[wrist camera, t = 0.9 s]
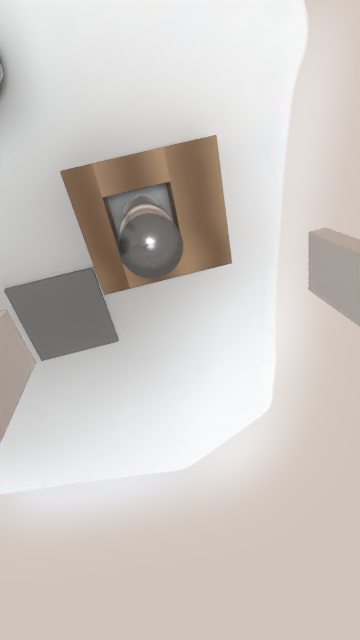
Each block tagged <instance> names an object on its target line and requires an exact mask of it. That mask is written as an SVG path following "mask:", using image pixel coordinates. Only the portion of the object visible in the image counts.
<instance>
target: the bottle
mask: <svg viewBox="0 0 360 640" xmlns="http://www.w3.org/2000/svg"><path fill="white" fill-rule="evenodd" d="M2 79H3V69H2V66H1V63H0V83H1V81H2Z"/></svg>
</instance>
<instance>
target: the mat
mask: <svg viewBox="0 0 360 640" xmlns="http://www.w3.org/2000/svg"><path fill="white" fill-rule="evenodd" d="M4 291H5V293H6V295H7V297H8V299H9V301H10V303H11V304H12V306H13V308H14V310H15V312H16V314H17V316H18V318H19V319H20V321H21V323H22V325H23V327H24V329H25V331H26V333H27V334H28V336H29V338H30V340H31V342H32V344H33V346H34V348H35V349H36V351H37V353H38V355H39V357H40V359H41V361H43V360H47V359H51V358H55V357H59V356H63V355H67V354H70V353H74V352H78V351H82V350H86V349H90V348H94V347H98V346H102V345H106V344H110V343H114V342H118V337H117V334H116V332H115V329H114V326H113V323H112V321H111V318H110V315H109V312H108V310H107V307H106V304H105V301H104V298H103V296H102V293H101V290H100V287H99V285H98V282H97V279H96V276H95V274H94V271H93V268H89V269H85V270H80V271H76V272H72V273H68V274H64V275H60V276H56V277H52V278H48V279H44V280H40V281H36V282H32V283H27V284H23V285H19V286H15V287H11V288H7V289H5V290H4Z"/></svg>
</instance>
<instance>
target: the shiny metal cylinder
mask: <svg viewBox="0 0 360 640" xmlns="http://www.w3.org/2000/svg"><path fill="white" fill-rule="evenodd" d="M119 253H120V256H121V259H122V261H123V263H124V264H125V266H126V267H127V268H128V269H129V270H130V271H131V272H132V273H134V274H135V275H138V276H140V277H143V278H150V279H152V278H159V277H163V276H165V275H167V274H168V273H170V272H171V271H173V270H174V269H175V268H176V266H177V265H178V263H179V262H180V260H181V257H182V254H183V240H182V236H181V234H180V232H179V230H178V228H177V227H176V226H175V224H174V223H173V221H172V220H171V219H170V217H169V216H168V214H167V213H166V212H165V210H164V209H163V207H162V206H161V205H160V203H159V202H158V201H157V200H156V199H155V198H153V197H151V196H148V195H136V196H134V197H132V198H130V199H129V200H128V201H127V202H126V203H125V205H124V207H123V210H122V216H121V227H120V238H119Z"/></svg>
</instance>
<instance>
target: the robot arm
mask: <svg viewBox="0 0 360 640" xmlns="http://www.w3.org/2000/svg"><path fill="white" fill-rule="evenodd" d="M309 290H310V291H311V292H313V293H314V294H315V295H317V296H318V297H319V298H321V299H323V300H324V301H325V302H326V303H328V304H329V305H331V306H332V307H333V308H335V309H336V310H337V311H339V312H340V313H342V314H343V315H345V316H346V317H347V318H349V319H350V320H351V321H353V322H354V323H355V324H357V325H358V326H360V240H359V239H356V238H353V237H351V236H348V235H345V234H342V233H339V232H336V231H333V230H331V229H328V228H323V229H319V230H315V231H311V232H309ZM35 363H36V361H35V360H34V358H33V356H32V354H31V352H30V351H29V349H28V347H27V345H26V343H25V342H24V340H23V338H22V336H21V335H20V333H19V331H18V329H17V327H16V326H15V324H14V322H13V320H12V318H11V317H10V315H9V313H8V311H7V310H5V311H1V312H0V443H1V441H2V438H3V436H4V434H5V432H6V429H7V427H8V425H9V422H10V420H11V418H12V416H13V413H14V411H15V409H16V406H17V404H18V402H19V399H20V397H21V395H22V393H23V390H24V388H25V386H26V383H27V381H28V379H29V377H30V374H31V372H32V370H33V367H34V365H35Z"/></svg>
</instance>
